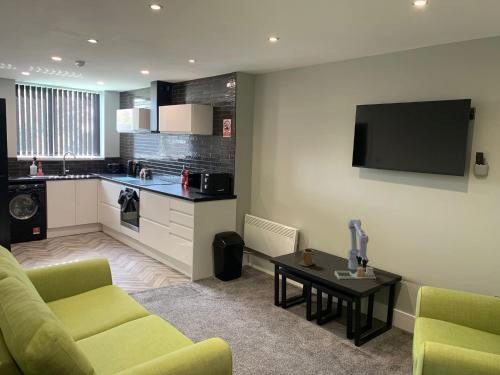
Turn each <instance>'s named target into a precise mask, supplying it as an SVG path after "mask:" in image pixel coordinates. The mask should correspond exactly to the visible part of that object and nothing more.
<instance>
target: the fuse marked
mask: <svg viewBox="0 0 500 375" xmlns="http://www.w3.org/2000/svg"><path fill="white" fill-rule="evenodd" d="M356 272H357V273H358V277H359V276H364V272H365V268H363V266H358V267H357V270H356Z"/></svg>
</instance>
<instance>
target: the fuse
mask: <svg viewBox="0 0 500 375" xmlns="http://www.w3.org/2000/svg"><path fill="white" fill-rule="evenodd" d="M365 273H366V274H367V277H368V276H373V273H374V267H371V266H369V267H367V266H366V267H365Z"/></svg>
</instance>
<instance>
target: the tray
mask: <svg viewBox="0 0 500 375" xmlns="http://www.w3.org/2000/svg"><path fill="white" fill-rule="evenodd" d="M339 274H349V276H347V275H346V276H344V275H343V276H341V275H339ZM353 274H354V273H352V272H351V271H350V270H335V271H334V275H335V277H336V278H337V280H338V281H340V280H355V279H356V278H355V277H354V275H353Z"/></svg>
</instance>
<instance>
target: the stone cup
mask: <svg viewBox="0 0 500 375" xmlns="http://www.w3.org/2000/svg"><path fill="white" fill-rule="evenodd" d="M301 254H302V256H301V257H302V261H299V263H298V264H299V265H300V266H302V267H303V266H304V267H309V266H311V265H314V264H316V261H315V260H314V259H313V258H314V255H315V251H314V249H313V248H304V249H303V251H302V253H301Z"/></svg>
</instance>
